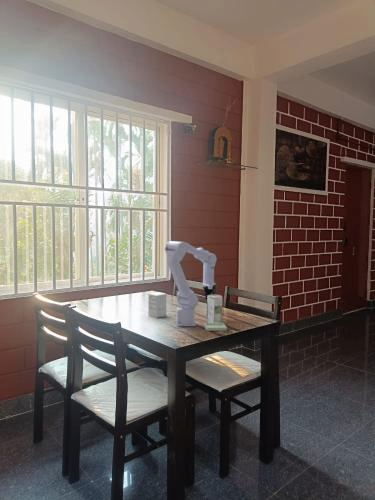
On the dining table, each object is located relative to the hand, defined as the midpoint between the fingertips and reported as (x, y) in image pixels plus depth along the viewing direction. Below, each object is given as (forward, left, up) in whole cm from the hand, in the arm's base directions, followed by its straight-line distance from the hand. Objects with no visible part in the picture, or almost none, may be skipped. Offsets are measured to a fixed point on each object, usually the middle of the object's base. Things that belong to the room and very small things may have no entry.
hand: (207, 300), depth 198 cm
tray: (+1, -17, -10) cm, 20 cm away
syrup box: (+2, -7, -11) cm, 13 cm away
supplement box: (-27, +8, -11) cm, 30 cm away
